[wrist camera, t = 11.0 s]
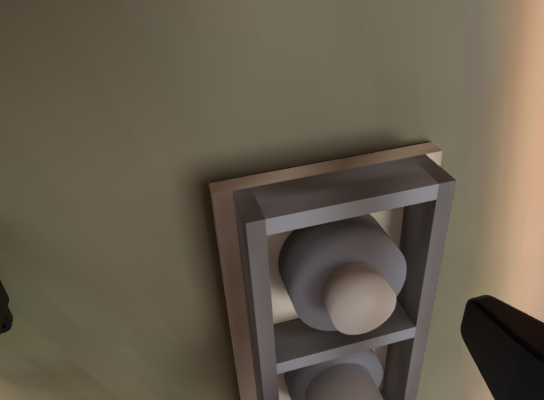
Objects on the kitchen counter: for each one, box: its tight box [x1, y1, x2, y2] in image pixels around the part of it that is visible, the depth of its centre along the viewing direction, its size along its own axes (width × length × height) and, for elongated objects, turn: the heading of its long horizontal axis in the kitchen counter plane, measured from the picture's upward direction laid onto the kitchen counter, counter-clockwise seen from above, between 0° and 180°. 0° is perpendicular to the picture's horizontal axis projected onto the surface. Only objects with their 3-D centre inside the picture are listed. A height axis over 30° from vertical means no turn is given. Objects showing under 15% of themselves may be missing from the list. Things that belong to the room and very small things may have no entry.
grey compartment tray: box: [209, 142, 456, 400], centre depth 26 cm, size 11×18×5 cm, turn 2°
